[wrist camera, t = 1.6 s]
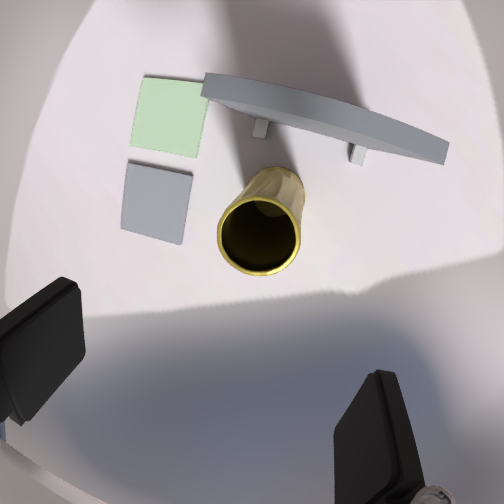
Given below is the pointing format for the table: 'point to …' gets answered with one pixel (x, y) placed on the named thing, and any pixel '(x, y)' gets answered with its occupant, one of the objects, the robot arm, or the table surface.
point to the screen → (323, 118)
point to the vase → (263, 223)
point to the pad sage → (169, 116)
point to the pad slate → (155, 202)
